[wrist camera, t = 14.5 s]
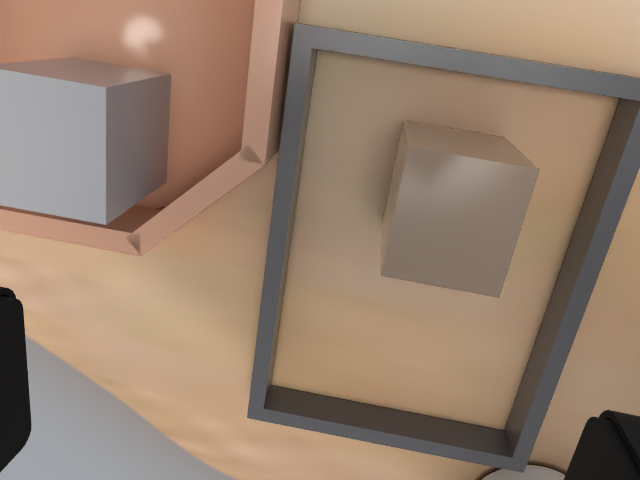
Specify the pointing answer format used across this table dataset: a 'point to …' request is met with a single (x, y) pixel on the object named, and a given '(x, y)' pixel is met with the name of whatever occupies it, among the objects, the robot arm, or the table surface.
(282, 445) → the table surface
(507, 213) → the greyish beige block
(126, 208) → the grey sharp-edged cuboid
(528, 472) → the bath foam
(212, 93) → the bowl
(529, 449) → the tray
